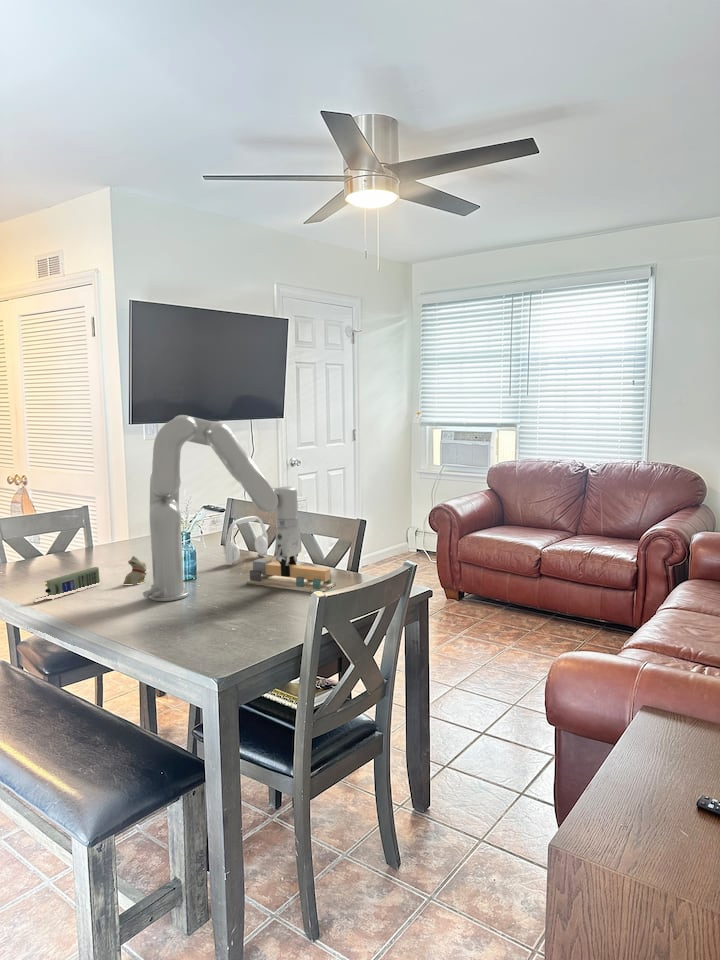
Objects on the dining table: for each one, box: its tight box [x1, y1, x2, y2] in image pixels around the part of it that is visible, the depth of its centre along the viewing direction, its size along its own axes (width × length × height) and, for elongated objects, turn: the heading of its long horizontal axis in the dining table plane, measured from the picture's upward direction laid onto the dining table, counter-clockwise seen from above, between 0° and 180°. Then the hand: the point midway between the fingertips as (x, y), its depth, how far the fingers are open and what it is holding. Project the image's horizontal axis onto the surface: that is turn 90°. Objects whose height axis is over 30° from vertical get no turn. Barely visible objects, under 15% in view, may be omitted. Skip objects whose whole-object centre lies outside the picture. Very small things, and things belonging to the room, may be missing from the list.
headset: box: [224, 515, 269, 566], centre depth 263 cm, size 20×7×18 cm, turn 141°
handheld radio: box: [36, 566, 101, 599], centre depth 221 cm, size 7×3×25 cm
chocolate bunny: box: [123, 555, 147, 584], centre depth 233 cm, size 6×8×10 cm
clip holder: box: [246, 569, 337, 593], centre depth 229 cm, size 10×30×4 cm, turn 64°
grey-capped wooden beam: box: [252, 557, 331, 582], centre depth 228 cm, size 4×29×4 cm, turn 64°
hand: (288, 574), depth 229 cm, fingers closed on grey-capped wooden beam, 3 cm apart
